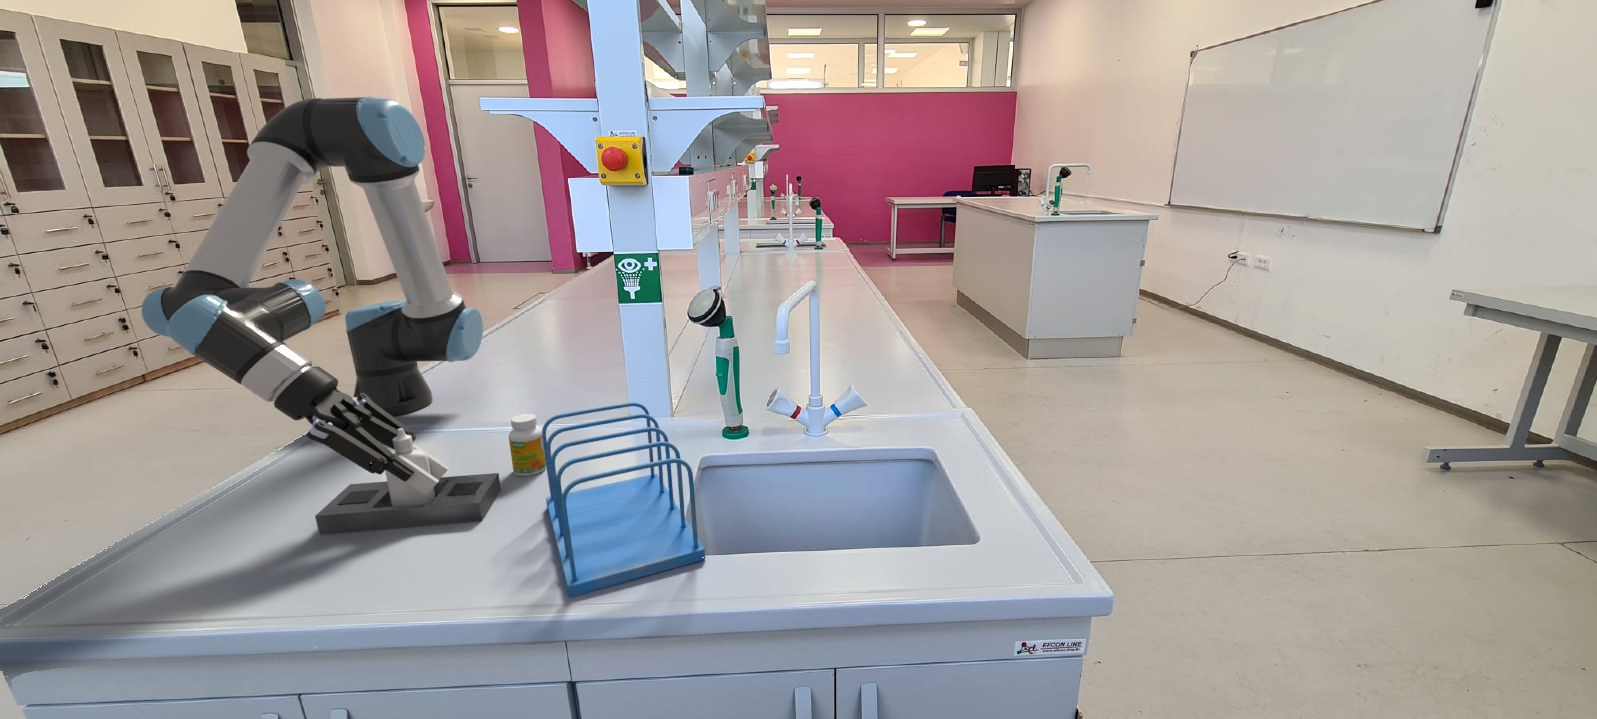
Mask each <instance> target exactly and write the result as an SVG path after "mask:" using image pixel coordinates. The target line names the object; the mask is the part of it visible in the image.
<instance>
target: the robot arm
mask: <svg viewBox="0 0 1597 719" xmlns="http://www.w3.org/2000/svg"><path fill="white" fill-rule="evenodd" d="M425 145H426V143H425V137H424V134H423V131H422V128H421V126H420V125H419V122H418V121H417V119H416V117H415V116H414V115H413V114H412V112H411V111H410V110H409V109H408V108H407V107H405V106H404V105H403V104H401V102H399V101H396V100H393V99H391V98H380V97H379V98H378V97H377V98H376V97H372V96H368V97H367V96H365V97H359V96H358V97H338V98H337V97H336V98H335V97H334V98H331V97H330V98H320V97H319V98H318V97H317V98H316V97H315V98H307V99H302V100H297V101H295V102H294V103H292V104H290V105H287V106H286V107H285V108H283V109H281V110H280V111H279V112H278V113H276V115H273V117H271V118H270V119H269V121H267V122H266V123H265V124H264V125H263V126H262V128H261V129H259V131H258V132H257V134H256V135H255V137H254V138H253V139H252V141H251V142H250V145H249V146H248V148H247V151H246V154H247V157H248V159H249V162H248V163H247V164H246V167H245V168H244V170H243V172H242V173H241V174H240V177H239V178H238V180H237V181H236V183H235V185H234V187H233V188H232V190H231V192H230V193H229V195H228V197H227V198H226V200H225V202H224V203H223V205H222V207H221V208H220V210H219V211H218V214H217V215H216V217H215V219H214V220H213V222H212V224H211V225H210V227H209V228H208V231H207V232H206V234H205V236H204V237H203V239H202V241H201V242H200V244H199V246H198V247H197V249H196V251H195V252H194V254H193V255H192V257H191V259H190V260H189V263H188V264H187V266H186V268H184V269H185V270H184V271H183V273H182V275H181V276H180V277H179V279H178V281H177V283H176V284H175V286H174V287H173V286H167V287H164V288H158V289H156V290H153V291H151V293H148V294H147V295H146V296H145V297H144V299H143V301H142V304H141V316H142V319H143V322H144V323H145V324H146V326H147V327H148V328H149V329H150V330H151V331H152V332H154V333H155V334H157V335H159V336H162V337H165V338H166V337H167V338H171V339H172V340H173V342H175V343H177V344H178V345H179V346H180V347H182V348H183V349H184V350H186V351H187V352H188V353H189V354H190V355H192V356H195V357H197V358H198V359H200V360H201V361H203V362H204V363H206V364H208V365H209V366H211V367H212V368H214V369H215V370H217V371H219V372H220V373H222V374H223V375H225V376H227V377H228V378H230V379H231V380H233V381H234V382H236V383H237V384H240V385H242V387H244V388H246V389H247V390H249V391H250V392H252V393H253V394H254V395H256V396H257V397H259V398H261V399H262V400H264V401H265V402H266V403H272V402H273V405H274V406H273V407H274V408H275V409H276V410H278V411H279V412H280V413H283V414H284V415H286V416H287V417H289V418H290V419H292V420H294V421H300V420H303V419H304V418H305V419H306V421H308V422H309V424H310V425H312V426H311V428H310V430H308V432H307V433H305V434H306V435H305V436H306V438H308V439H309V440H311V441H314V442H317V443H320V444H322V445H325V446H326V447H328V448H329V449H331V450H333V451H334V452H336V453H337V454H339V455H341V456H342V457H344V458H345V459H347V460H349V461H350V462H352V463H353V464H355V465H357V466H359V467H360V468H362V469H363V470H365V471H367V472H369V473H370V474H377V475H382V474H383V473H384V472H385V470H387V471H389V472H390V473H392V474H393V475H395V476H396V477H398V478H399V479H401V480H402V481H405V482H406V483H408V484H409V485H411V486H412V487H414V488H415V489H417V490H418V491H420V492H421V493H423V494H424V495H427V494H428V492H429V491H430V490H431V489H432V488H433V487H434V486H435V485H436V484H437V483H438V481H439V479H440V478H441V477H444V475H445V474H446V473H447V472H448V470H450V467H449V466H447V465H446V464H445V463H443V462H442V461H440V460H439V459H438V458H436V457H434V456H433V455H431V454H430V453H429V452H428V451H426V450H424V449H423V448H422V447H420V446H419V445H417V444H415V443H414V441H415V440H416V439H418V438H417V435H416V434H415V432H414V431H413V430H412V429H410V428H409V427H408V426H407V425H405V424H404V423H402V422H400V420H398V419H397V418H395V417H394V416H399V415H404V414H408V413H411V412H415V411H418V410H420V409H423V408H425V407H427V406H429V405H430V404H431V403H432V402H433V399H434V398H433V393H432V390H431V388H430V387H429V385H428V382H427V381H426V380H425V378H424V376H423V374H422V372H421V371H420V370H419V366H418V362H449V363H454V362H462V361H463V362H464V361H465V362H466V361H468V360H471V359H473V357H474V356H475V355H476V354H477V352H478V351H479V349H480V347H481V344H482V339H483V334H484V323H483V318H482V314H481V313H480V311H479V310H478V309H477V308H476V307H472V306H466V305H465V301H464V299H463V296H462V295H461V293H459V292H457V291H455V290H452V287H451V285H450V284H451V283H450V282H449V278H448V275H447V272H446V270H445V266H444V264H443V261H442V258H441V256H440V252H439V249H438V246H437V243H436V241H435V238H434V234H433V231H432V229H431V226H430V222H429V219H428V217H427V214H426V210H425V208H424V205H423V203H422V200H421V196H420V194H419V190H418V187H417V185H416V181H415V179H416V177H417V176H418V174H419V173H420V170H421V169H420V166H419V165H420V164H421V163H422V161H423V160H424V158H425V155H426V150H425ZM329 167H344V169H345V171H346V174H347V177H348V179H349V181H350V183H352V184H354V185H356V186H358V187H360V188H362V189H363V191H364V195H365V196H366V200H367V203H368V204H369V207H370V209H371V212H372V215H373V218H374V220H375V223H376V225H377V227H378V230H379V232H380V235H381V238H382V240H383V243H384V246H385V248H386V249H385V250H386V251H387V254H388V256H389V258H390V262H391V264H392V266H393V270H394V271H395V274H396V278H397V280H398V282H399V284H400V287H401V289H402V293H403V295H404V298H405V299H402V300H401V299H397V300H390V301H389V300H388V301H382V302H378V303H372V304H368V305H364V306H363V305H362V306H360V307H356V308H353V309H350V310H348V311H347V312H346V314H345V315H344V316H345V317H344V320H345V327H346V328H345V333H346V334H347V339H348V343H349V344H348V345H349V347H350V352H351V356H352V361H353V366H354V367H353V368H354V369H355V370H354V372H355V375H356V376H355V377H356V381H355V385H354V391H353V397H352V396H350V395H349V394H347V393H345V392H342V391H340V390H339V389H338V388H337V387H338V385H339V380H338V378H336V377H335V376H333V375H332V374H331V373H329V372H328V371H326V370H324V369H323V368H321V367H320V366H313V361H312V360H311V359H309V358H308V357H306V356H305V355H303V354H301V353H300V352H299V351H297V350H296V349H294V348H292V347H291V346H289V345H288V344H287V343H285V341H287V340H289V339H290V338H292V337H294V336H296V335H298V334H300V333H302V332H303V331H306V330H309V329H311V328H312V326H313V325H315V324H316V323H317V322H319V321H321V319H323V317H324V315H325V313H326V308H327V305H326V302H325V300H324V297H323V294H322V292H320V291H319V290H318V288H316V287H315V286H314V285H313V284H311V283H309V282H307V281H305V280H302V279H297V278H293V279H292V278H291V279H288V280H285V281H279V282H277V283H274V284H273V285H271V286H267V287H248V285H250V283H251V281H252V278H253V277H254V276H255V273H256V271H257V269H258V267H259V265H260V264H261V262H262V260H263V258H264V256H265V254H266V253H267V251H268V249H269V247H270V245H271V243H272V242H273V239H274V237H275V235H276V233H277V232H278V230H279V227H280V226H281V224H282V222H283V220H284V219H285V217H286V215H287V213H288V211H289V209H290V207H291V205H292V204H293V202H294V200H295V199H296V196H297V194H298V192H299V191H300V188H302V185H307V184H310V183H311V182H312V181H313V180H314V178H315V176H316V174H317V173H318V172H319V171H320V170H323V169H325V168H329ZM400 428H403V430H404V432H405V434H406V435H410V436H411V437H412V442H413V447H414V449H417V450H422V451H425V452H426V453H427V455H428V460H429V465H430V470H431V475H430V474H429V473H427V472H426V471H424V470H423V469H421V468H420V467H418V466H417V465H416V464H414V463H413V462H411V461H410V460H408V459H407V458H405V457H404V456H402V455H400V456H398V458H397V459H396V456H395V455H394V454H393V453H394V452H392V451H390V450H389V449H388V448H390V449H392V450H394V445H393V439H394V438H395V437H397V434H398V429H400ZM386 446H387V447H388V448H387V447H386Z"/></svg>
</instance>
